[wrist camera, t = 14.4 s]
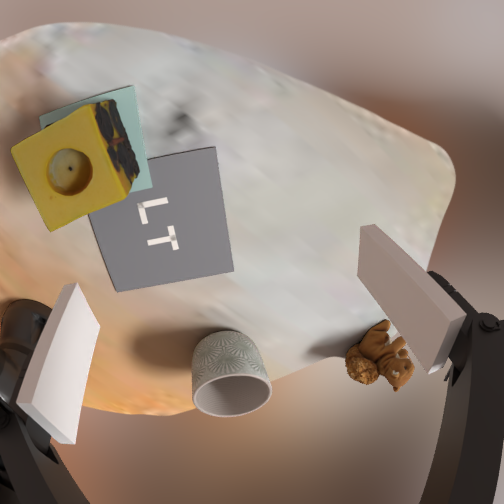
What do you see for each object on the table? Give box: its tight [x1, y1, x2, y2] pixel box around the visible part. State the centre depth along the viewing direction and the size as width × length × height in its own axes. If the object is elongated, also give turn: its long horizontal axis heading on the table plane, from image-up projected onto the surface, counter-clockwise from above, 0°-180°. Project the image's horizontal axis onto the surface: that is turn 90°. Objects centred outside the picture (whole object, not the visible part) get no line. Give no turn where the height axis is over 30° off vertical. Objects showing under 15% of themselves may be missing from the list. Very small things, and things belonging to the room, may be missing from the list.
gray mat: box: [89, 147, 234, 292], centre depth 39 cm, size 18×18×1 cm
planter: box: [192, 331, 272, 417], centre depth 48 cm, size 12×12×11 cm
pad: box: [39, 86, 153, 193], centre depth 33 cm, size 13×13×1 cm
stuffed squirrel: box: [345, 320, 414, 392], centre depth 55 cm, size 10×14×13 cm
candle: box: [10, 99, 140, 232], centre depth 28 cm, size 10×10×10 cm
